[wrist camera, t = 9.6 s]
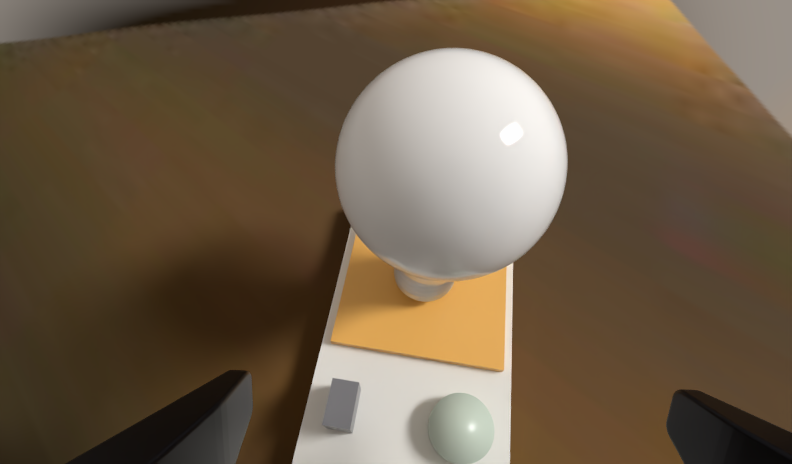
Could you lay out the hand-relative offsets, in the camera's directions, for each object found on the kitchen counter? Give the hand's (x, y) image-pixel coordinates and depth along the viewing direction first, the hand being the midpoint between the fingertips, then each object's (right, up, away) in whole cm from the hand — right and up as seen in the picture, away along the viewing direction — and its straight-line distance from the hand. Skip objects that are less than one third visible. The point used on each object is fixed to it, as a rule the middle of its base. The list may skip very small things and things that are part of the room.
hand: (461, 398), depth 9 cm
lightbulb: (0, +1, +10) cm, 10 cm away
